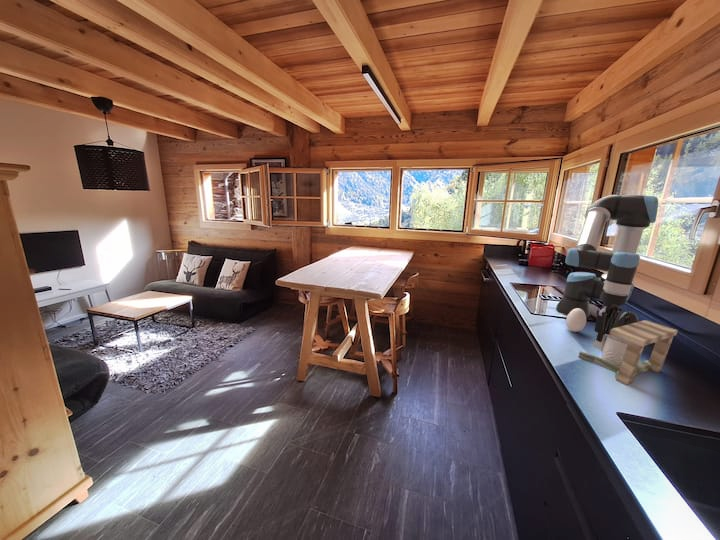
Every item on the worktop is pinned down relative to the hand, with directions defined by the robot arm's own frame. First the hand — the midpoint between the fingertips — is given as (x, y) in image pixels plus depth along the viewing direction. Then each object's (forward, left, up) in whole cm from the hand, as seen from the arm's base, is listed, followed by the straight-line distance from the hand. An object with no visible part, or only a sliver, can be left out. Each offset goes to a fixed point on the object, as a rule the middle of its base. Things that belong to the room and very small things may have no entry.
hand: (598, 347), depth 114 cm
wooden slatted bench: (0, +7, -4) cm, 8 cm away
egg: (-15, -17, -4) cm, 23 cm away
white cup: (-1, +5, -4) cm, 6 cm away
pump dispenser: (-23, -2, -4) cm, 24 cm away
